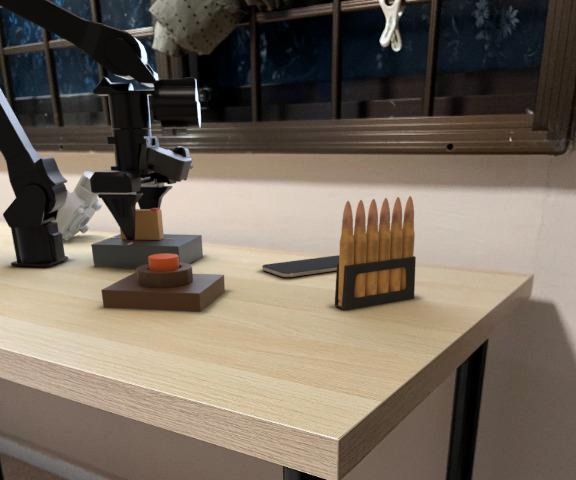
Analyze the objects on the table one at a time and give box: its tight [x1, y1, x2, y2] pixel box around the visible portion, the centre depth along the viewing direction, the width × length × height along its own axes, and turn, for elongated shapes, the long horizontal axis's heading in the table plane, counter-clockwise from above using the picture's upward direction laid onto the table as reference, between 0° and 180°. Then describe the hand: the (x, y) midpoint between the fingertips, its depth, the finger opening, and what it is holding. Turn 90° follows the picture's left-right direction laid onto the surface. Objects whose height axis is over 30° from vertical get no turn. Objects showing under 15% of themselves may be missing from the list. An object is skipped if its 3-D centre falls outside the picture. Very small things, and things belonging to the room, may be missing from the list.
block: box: [119, 207, 164, 240], centre depth 96 cm, size 6×2×5 cm, turn 79°
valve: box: [51, 170, 103, 242], centre depth 117 cm, size 10×20×15 cm
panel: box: [91, 233, 204, 269], centre depth 97 cm, size 14×11×4 cm
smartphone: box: [261, 254, 339, 278], centre depth 91 cm, size 7×1×15 cm
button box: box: [101, 262, 226, 313], centre depth 75 cm, size 12×10×4 cm
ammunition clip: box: [334, 195, 417, 311], centre depth 71 cm, size 11×2×12 cm, turn 120°
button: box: [148, 253, 179, 271], centre depth 74 cm, size 4×4×2 cm
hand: (142, 235), depth 96 cm, fingers open, 8 cm apart
